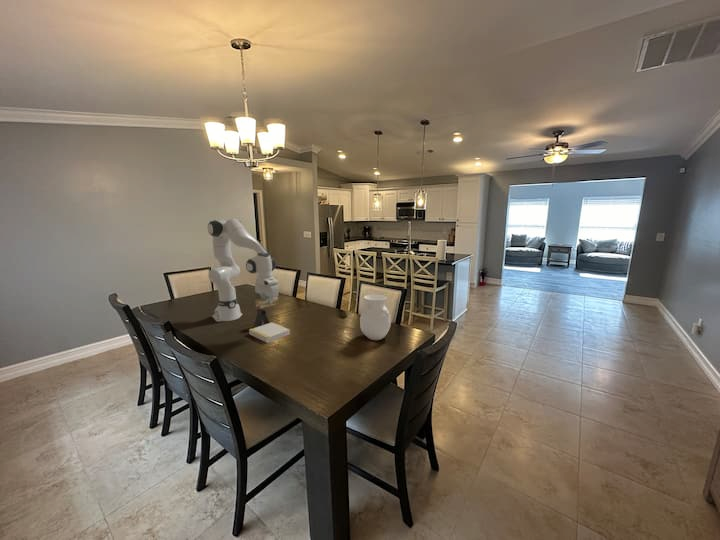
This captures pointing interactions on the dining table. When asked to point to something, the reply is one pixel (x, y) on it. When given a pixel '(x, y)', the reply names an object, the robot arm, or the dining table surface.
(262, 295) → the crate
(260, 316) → the phone stand
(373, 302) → the white vase
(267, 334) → the dock
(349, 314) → the dining table surface
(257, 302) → the pallet
